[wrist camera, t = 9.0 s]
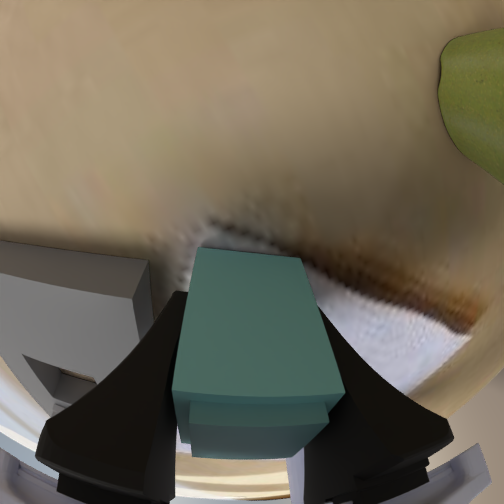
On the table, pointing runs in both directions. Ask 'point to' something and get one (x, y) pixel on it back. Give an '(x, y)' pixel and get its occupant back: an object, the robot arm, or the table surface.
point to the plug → (252, 359)
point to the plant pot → (475, 97)
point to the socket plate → (69, 317)
